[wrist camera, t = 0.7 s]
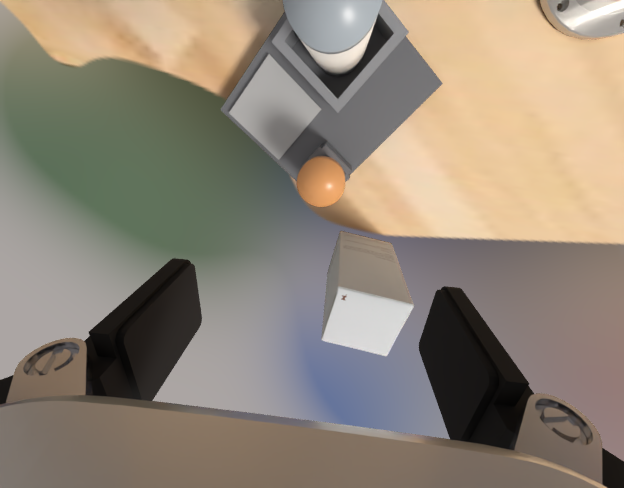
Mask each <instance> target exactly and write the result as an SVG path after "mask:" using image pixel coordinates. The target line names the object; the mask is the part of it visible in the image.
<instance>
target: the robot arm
mask: <svg viewBox="0 0 624 488" xmlns="http://www.w3.org/2000/svg"><path fill="white" fill-rule="evenodd" d="M540 3H541V7H542V9H543V11H544V13H545V15H546V17H547V19H548V20H549V21H550V23H551V24H552V25H553V26H554V27H555V28H556V29H557V30H559V31H561V32H562V33H564V34H566V35H568V36H571V37H575V38H579V39H600V38H606V37H611V36H615V35H618V34H622V33H624V0H540ZM557 5H558V7H559V8H558V10H557ZM201 321H202V316H201V308H200V301H199V294H198V287H197V279H196V272H195V266H194V265H193V264H191V262H190V261H189V260H184V259H172V260H170V261H169V262H168V263H167V264H166V265H164V266H163V267H162V268H161V269H160V270H159V271H158V272H156V273H155V274H154V275H153V276H152V277H151V278H150V279H149V280H148V281H146V282H145V283H144V284H143V285H142V286H141V287H139V288H138V289H137V290H136V291H135V292H134V293H133V294H132V295H130V296H129V297H128V298H127V299H126V300H125V301H123V302H122V303H121V304H120V305H119V306H118V307H117V308H116V309H115V310H113V311H112V312H111V313H110V314H109V315H108V316H106V317H105V318H104V319H103V320H102V321H101V322H100V323H98V324H97V325H96V326H95V327H94V328H93V329H92V330H90V331H89V334H90V336H89V337H88V338H87V339H86V340H85V341H83V340H81V339H77V338H65V339H60V340H56V341H53V342H50V343H48V344H45V345H43V346H41V347H39V348H37V349H35V350H34V351H32V352H31V353H29V354H28V355H27V356H25V357H24V358H23V360H21V361H20V362H19V364H18V366H17V367H16V369H15V372H14V375H13V376H10V377H8V378H4V379H2V380H0V488H624V462H623V461H622V460H620V459H619V458H617V457H616V456H614V455H613V454H611V453H609V452H608V451H606V450H605V449H603V448H602V441H601V437H600V434H599V433H598V431H597V429H596V428H595V426H594V425H593V424H592V423H591V422H590V421H589V419H588V418H587V417H586V416H584V415H583V414H582V413H581V412H580V411H579V410H577V409H576V408H575V407H573V406H572V405H570V404H568V403H567V402H565V401H563V400H561V399H559V398H557V397H555V396H551V395H548V394H540V393H536V394H534V393H533V392H532V390H531V389H530V387H529V386H528V385H529V383H528V381H527V380H526V379H525V377H524V376H523V374H522V373H521V372H520V370H519V369H518V367H517V366H516V364H515V363H514V362H513V360H512V359H511V358H510V356H509V355H508V353H507V352H506V351H505V349H504V348H503V346H502V345H501V344H500V342H499V341H498V339H497V338H496V337H495V335H494V334H493V332H492V331H491V330H490V328H489V327H488V325H487V324H486V323H485V321H484V320H483V318H482V317H481V316H480V314H479V313H478V311H477V310H476V309H475V307H474V306H473V304H472V303H471V302H470V300H469V299H468V297H467V296H466V295H465V293H464V292H463V291H462V289H460V288H455V287H442V289H441V290H437V291H436V293H435V297H434V299H433V303H432V306H431V309H430V312H429V315H428V318H427V321H426V324H425V327H424V330H423V333H422V336H421V339H420V342H419V351H420V354H421V357H422V360H423V363H424V366H425V369H426V372H427V374H428V377H429V380H430V383H431V386H432V389H433V392H434V394H435V397H436V400H437V403H438V406H439V409H440V411H441V414H442V417H443V420H444V423H445V426H446V428H447V431H448V434H449V437H450V439H444V438H437V437H430V436H424V435H416V434H409V433H401V432H393V431H386V430H378V429H371V428H364V427H356V426H349V425H341V424H333V423H326V422H317V421H309V420H301V419H294V418H286V417H278V416H271V415H263V414H255V413H247V412H239V411H230V410H222V409H214V408H206V407H198V406H189V405H181V404H172V403H164V402H156V401H152V400H153V399H154V397H155V395H156V394H157V392H158V391H159V389H160V388H161V386H162V385H163V383H164V382H165V380H166V378H167V377H168V375H169V374H170V372H171V371H172V369H173V368H174V366H175V364H176V363H177V361H178V360H179V358H180V357H181V355H182V353H183V352H184V350H185V349H186V347H187V346H188V344H189V342H190V341H191V340H192V338H193V336H194V335H195V333H196V332H197V330H198V329H199V327H200V325H201Z"/></svg>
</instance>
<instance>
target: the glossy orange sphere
mask: <svg viewBox="0 0 624 488" xmlns="http://www.w3.org/2000/svg"><path fill="white" fill-rule="evenodd" d="M297 188H298V191H299V194H300V195H301V197H302V198H303V199H304V200H305V201H306V202H307V203H309V204H311V205H313V206H317V207H325V206H329V205H332V204H333V203H335V202H336V201H338V200H339V198H340V197H341V196H342V194H343V192H344V188H345V174H344V170H343V168H342V167H341V165H340V164H339V163H338V162H337V161H336V160H334V159H333V158H331V157H327V156H317V157H314V158H311V159H310V160H308V161H307V162H306V163H305V164H304V165H303V167H302V168H301V170H300V171H299V174H298V177H297Z"/></svg>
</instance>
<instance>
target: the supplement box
mask: <svg viewBox="0 0 624 488" xmlns="http://www.w3.org/2000/svg"><path fill="white" fill-rule="evenodd" d="M413 307H414V304H413V302H412V299H411V297H410V294H409V291H408V289H407V285H406V283H405V280H404V277H403V274H402V271H401V268H400V265H399V263H398V260H397V257H396V254H395V252H394V249H393V246H392V244H391V243H389V242H385V241H381V240H377V239H373V238H368V237H364V236H360V235H356V234H352V233H347V232H344V231H340V233H339V237H338V240H337V243H336V247H335V249H334V253H333V256H332V259H331V263H330V266H329V269H328V273H327V284H326V296H325V305H324V316H323V328H322V341H326V342H330V343H334V344H339V345H343V346H347V347H351V348H355V349H359V350H363V351H367V352H371V353H375V354H379V355H383V356H387V355H388V353H389V351H390V349H391V347H392V345H393V344H394V342H395V340H396V338H397V336H398V334H399V332H400V330H401V328H402V326H403V325H404V323H405V321H406V320H407V318H408V316H409V314H410V312H411V310H412V309H413Z"/></svg>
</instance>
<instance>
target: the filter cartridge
mask: <svg viewBox="0 0 624 488" xmlns="http://www.w3.org/2000/svg"><path fill="white" fill-rule="evenodd" d="M381 4H382V0H283V5H284V10H285V13H286V16H287V18H288V21H289V23H290V25H291V26H292V28H293V30H294V31H295V33H296V34H297V36H298V37H299V39H300V40H301V41H302V43H303V44H304V46H305V47H306V49H307V50H308V51H309V53H310V54H311V56H312V57H313V59H314V60H315V62H316V63H317V64H318V66H319V67H320V68H321V69H322V70H323V71H324V72H325V73H327V74H328V75H331V76H336V77H339V76H344V75H347V74H349V73H351V72H352V71H353V70H355V69H356V68H357V66H358V65H359V64H360V62H361V60H362V58H363V56H364V53H365V50H366V47H367V45H368V42H369V39H370V36H371V33H372V30H373V27H374V24H375V22H376V19H377V16H378V13H379V10H380V7H381Z"/></svg>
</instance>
